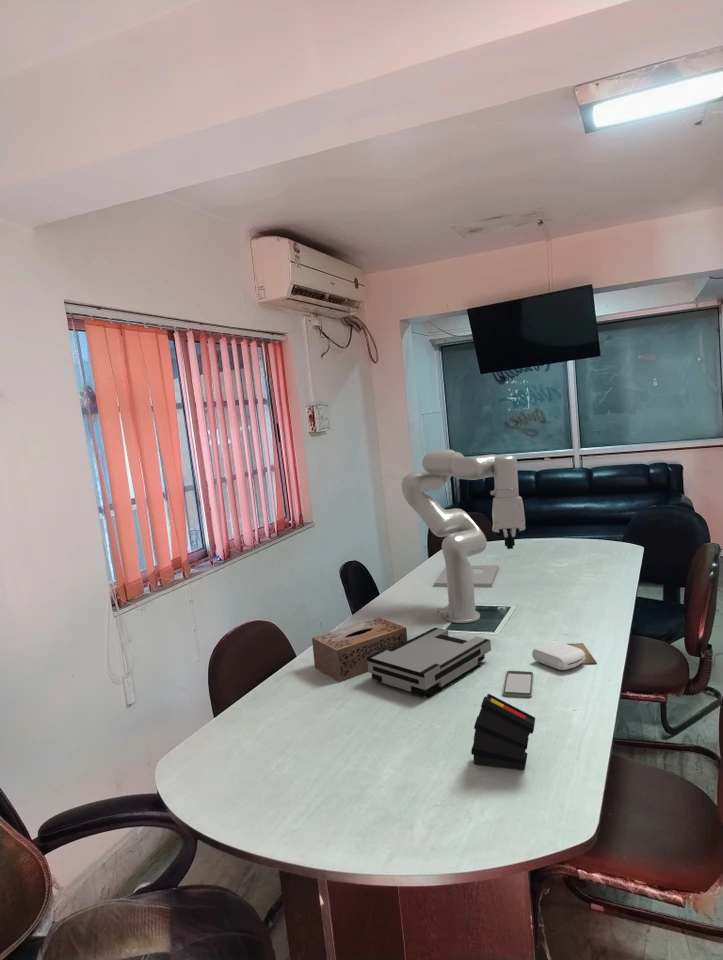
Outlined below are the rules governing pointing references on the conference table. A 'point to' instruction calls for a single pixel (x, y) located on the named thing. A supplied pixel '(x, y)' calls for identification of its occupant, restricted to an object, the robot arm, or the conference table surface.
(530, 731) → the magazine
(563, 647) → the photo printer
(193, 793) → the conference table surface
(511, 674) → the smartphone
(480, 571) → the award plaque
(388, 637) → the tissue box cover
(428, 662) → the game console
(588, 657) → the board
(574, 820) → the conference table surface
